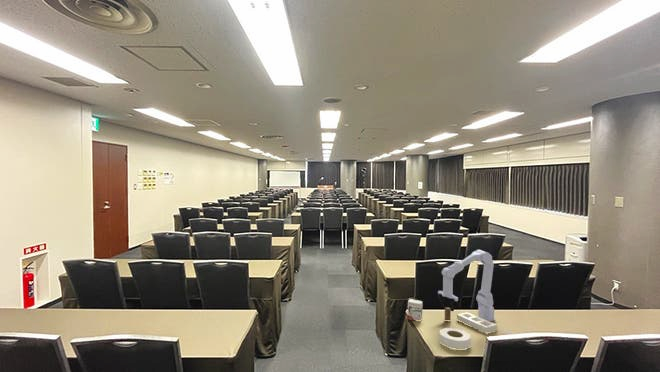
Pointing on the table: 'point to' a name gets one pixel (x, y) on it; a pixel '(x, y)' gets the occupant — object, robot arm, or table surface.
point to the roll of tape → (455, 338)
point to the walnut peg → (447, 313)
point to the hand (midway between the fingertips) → (447, 308)
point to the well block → (477, 322)
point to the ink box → (414, 309)
